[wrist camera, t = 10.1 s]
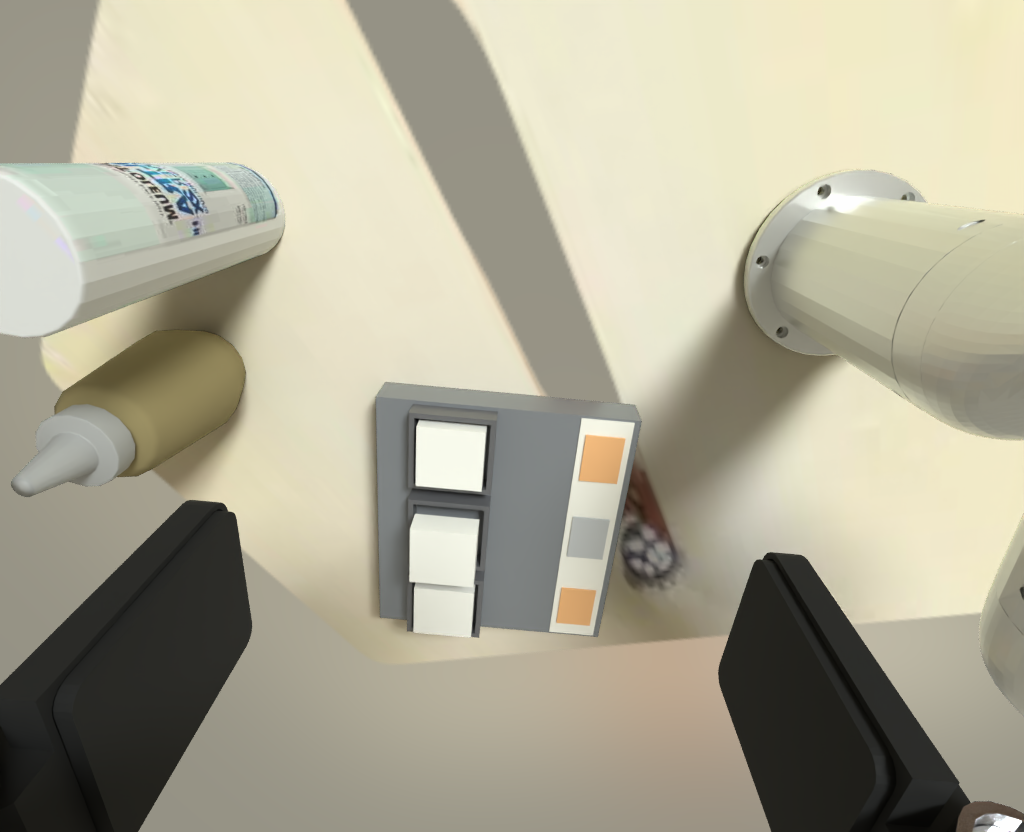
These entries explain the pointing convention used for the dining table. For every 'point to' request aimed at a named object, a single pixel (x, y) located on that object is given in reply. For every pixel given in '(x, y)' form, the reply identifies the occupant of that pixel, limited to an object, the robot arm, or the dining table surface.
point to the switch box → (513, 502)
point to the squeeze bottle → (136, 411)
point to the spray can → (121, 235)
